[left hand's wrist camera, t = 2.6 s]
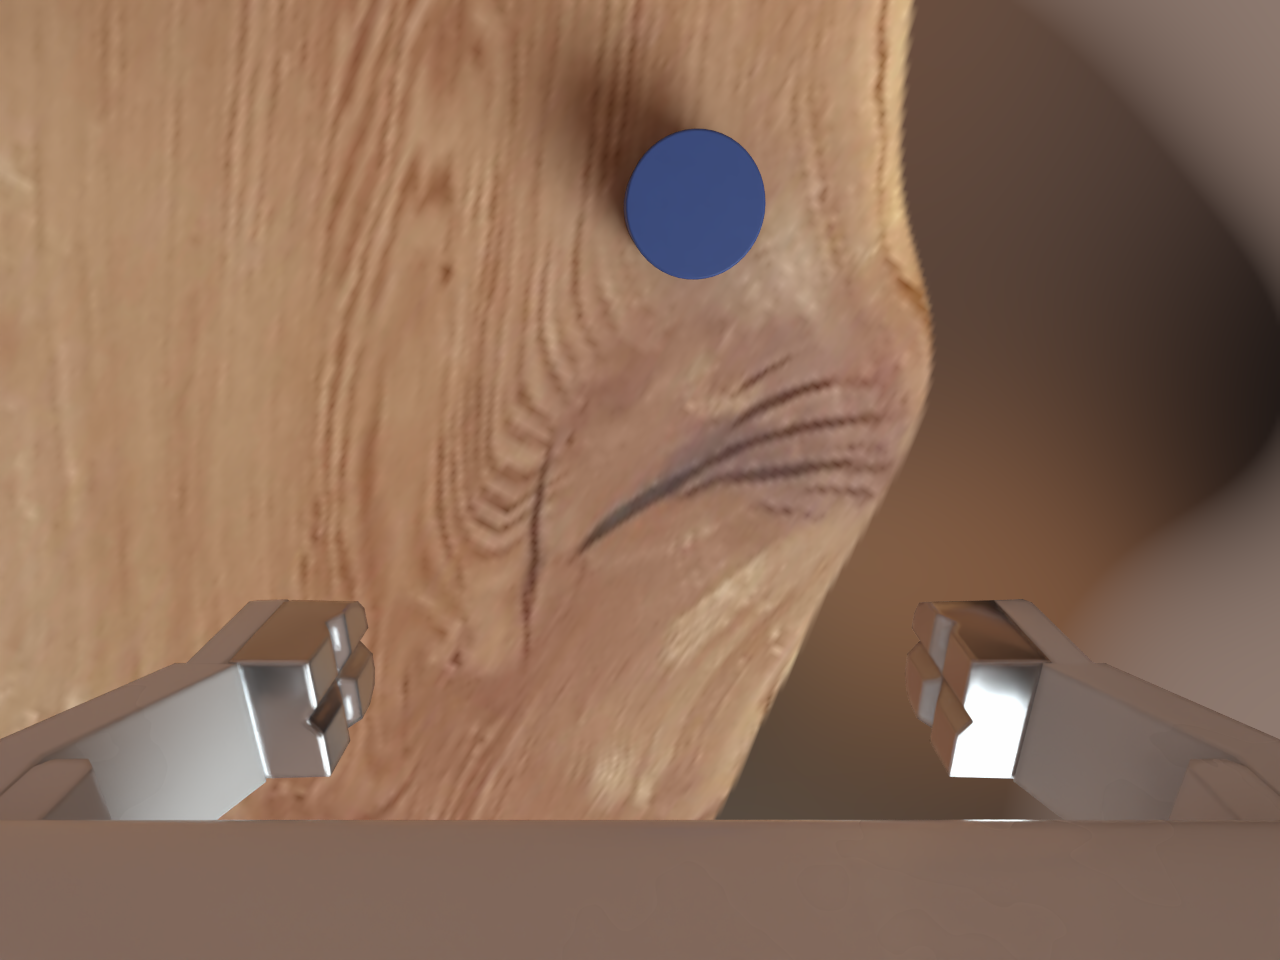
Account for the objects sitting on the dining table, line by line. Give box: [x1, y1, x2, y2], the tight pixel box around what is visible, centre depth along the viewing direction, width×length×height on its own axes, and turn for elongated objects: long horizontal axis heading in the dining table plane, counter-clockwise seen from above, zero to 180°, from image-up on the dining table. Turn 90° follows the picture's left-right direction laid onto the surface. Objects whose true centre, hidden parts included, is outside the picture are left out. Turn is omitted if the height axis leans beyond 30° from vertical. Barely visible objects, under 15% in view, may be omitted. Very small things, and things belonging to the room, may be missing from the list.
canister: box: [624, 129, 765, 279], centre depth 24 cm, size 4×4×5 cm
